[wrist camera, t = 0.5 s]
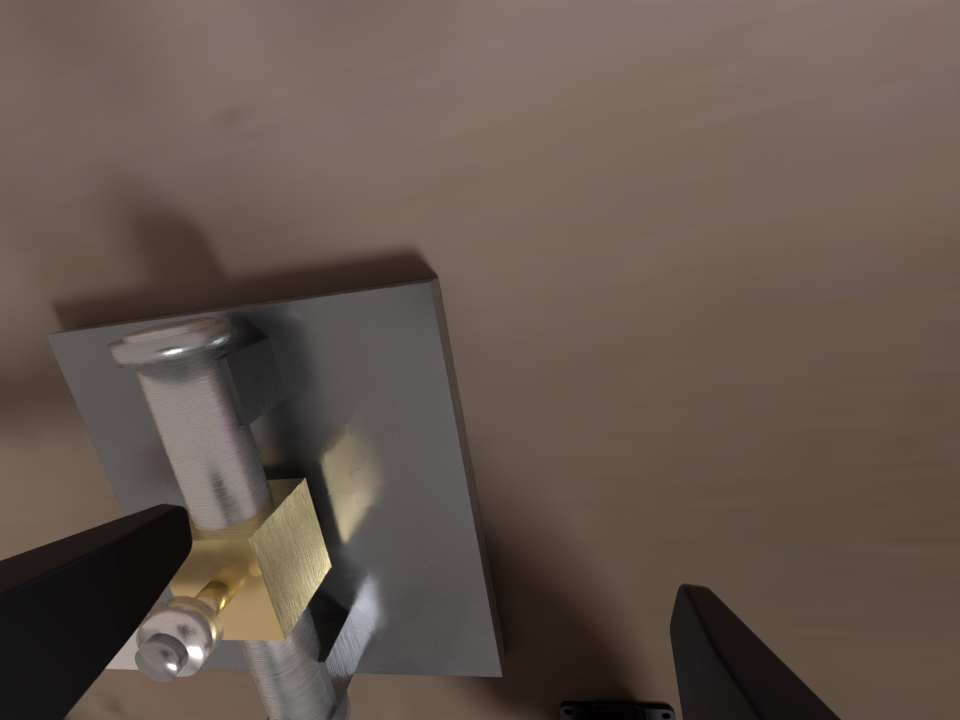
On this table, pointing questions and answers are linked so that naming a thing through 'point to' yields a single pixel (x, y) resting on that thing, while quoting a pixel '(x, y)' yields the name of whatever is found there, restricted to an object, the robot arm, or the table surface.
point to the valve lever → (172, 640)
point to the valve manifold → (304, 482)
